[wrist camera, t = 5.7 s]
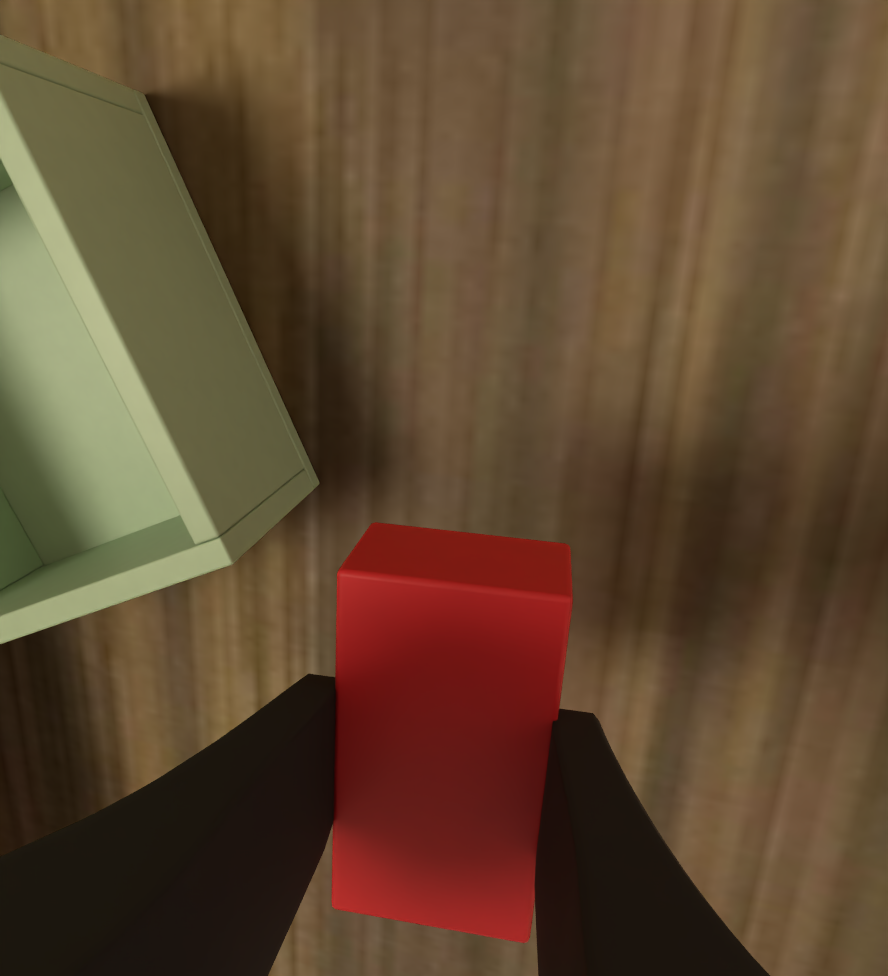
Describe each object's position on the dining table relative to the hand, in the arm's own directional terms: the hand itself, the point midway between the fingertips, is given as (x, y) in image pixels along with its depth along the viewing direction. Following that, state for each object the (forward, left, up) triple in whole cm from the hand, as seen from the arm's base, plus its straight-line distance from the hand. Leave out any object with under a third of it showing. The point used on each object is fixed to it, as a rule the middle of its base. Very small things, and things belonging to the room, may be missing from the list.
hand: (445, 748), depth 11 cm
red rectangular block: (0, 0, -1) cm, 1 cm away
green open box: (+8, +8, -8) cm, 14 cm away
